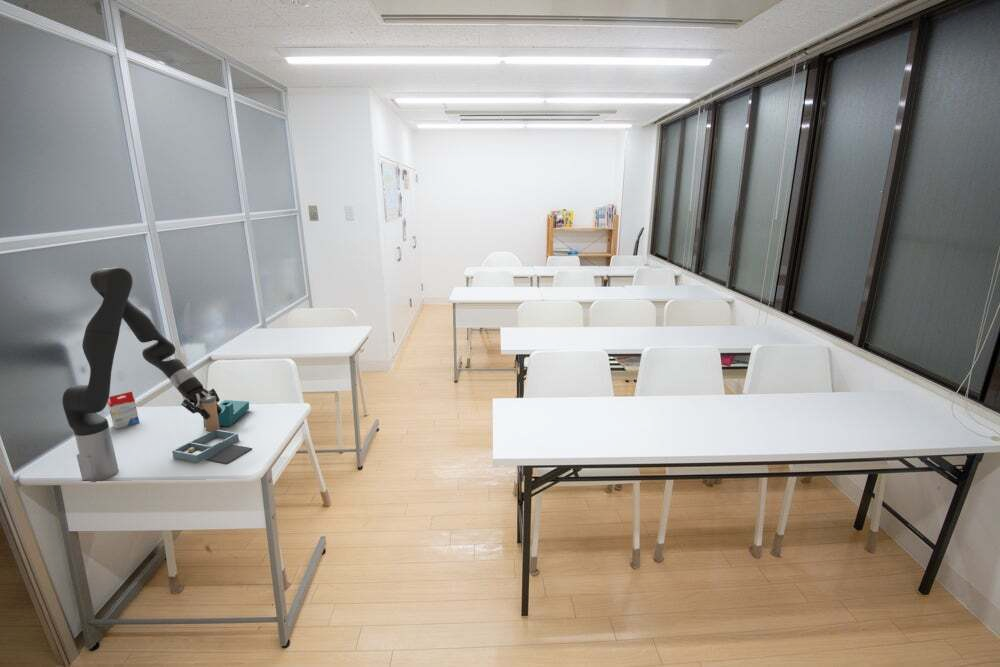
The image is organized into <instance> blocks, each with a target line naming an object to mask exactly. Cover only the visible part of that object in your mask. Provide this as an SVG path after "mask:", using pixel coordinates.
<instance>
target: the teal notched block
mask: <svg viewBox="0 0 1000 667" xmlns="http://www.w3.org/2000/svg"><path fill="white" fill-rule="evenodd" d="M218 405H219V407H220V408H221V409H222V412H221V413H220V414H218V419H219V426H225V427H226V426H227V427H230V426H232V425H233V423H234V424H235V422H236V421H237V420H239V419H240V418H241V417H242V416H243V415H244V414H245V413H246V412H248V411H249V410H250V402H249V401H246V400H245V401H244V400H231V399H224V400H223V401H221V402H220V403H219V404H218ZM202 418H203V417H202ZM203 421H204V418H203ZM203 428H205V423H204V422H203Z"/></svg>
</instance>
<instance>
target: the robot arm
mask: <svg viewBox="0 0 1000 667" xmlns="http://www.w3.org/2000/svg"><path fill="white" fill-rule="evenodd" d="M90 284H91V286H92V288H93V289H94V290H95V291H96V292H97V293H98V294H99V295H100V296H101V298H102V299H103V300H102V302H101V305H100V306H99V309H98V310H97V311H96V312H95V313H94V315H93V316H92V317H91V319H90V320H89V321H88V323H87V325H86V327H85V330H84V333H83V334H84V335H83V338H82V351H83V353H84V357H85V359H86V361H87V362H88V365H89V370H90V373H89V380H88V384H86V385H85V384H76V385H72V386H69V387H67V388H66V389H65V391H64V392H63V395H62V401H61V402H62V407H63V410H64V414H65V417H66V420H67V423H68V426H69V427H70V428H71V430H72V431H73V433H74V438H75V441H76V445H77V446H76V447H77V451H78V454H76V460H77V463H78V468H79V472H80V477H81V480H82V481H87V482H91V483H96V482H99V481H102V480H106V479H109V478H111V477H113V476H114V475H116V474H118V472H119V464H118V462H117V456H116V452H115V447H114V444H113V439H112V433H111V430H110V426H109V421H108V419H107V418H106V417H104V416H102V415H100V414H98V413H100V412H102V411H103V410H104V409H105V408H106V407H107V405H108V401H109V400H110V399H109V397H110V392H111V383H112V382H111V378H112V370H113V366H114V358H115V354H116V350H117V345H118V342H119V341H118V340H119V336H120V331H121V330H120V329H121V326H122V320H123V321H124V322H125V324H126V325H127V326H128V327H129V329H130V331H131V332H132V333H133V335H134V336H135V337H136V339H137V340H138V341H139V342H140V343H141V344H142V343H143V344H144V343H149V342H153V341H157V342H155V343H153V344H151V345H149V346H147V347H145V348H144V349H143V350H142V357H143V359H144V360H145V361H146V362H148V363H149V364H151V365H152V366H154V367H155V368H157V369H158V370H160V371H161V372H162V373H163V374H164V375H165V376H166V377H167V378H168V380H169V381H170V382H171V383H172V385H173V387H174V388H175V389H176V390H177V391H178V392H179V393H180V394H181V396H182V397H183V398H185V399H184V400H183V401H181V403H180V405H181V406H182V407H184V408H185V409H186V410H187V411H189V412H191V414H196V413H197V414H199V415H200V416H201V417H202V418H204V419H206V420H207V419H209V417H210V415H209V414H208V412H207V411H206V410H205V409H203V406H202V403H201V398H203V397H207V396H215V397H216V405H217V412H218V414H220V413H221V412H222V409H221V408H220V407H219V404H218V403H219V402H220V401H221V400H220V396H218V394H217V392H216V390H215V388H212V389H210V390H207V389H206V388H204V386H203V384H202V383H201V381H199V379H198V378H197V377H196V376H195V375H194V373H193V372H192V371H190V370H189V369H188V368H187V366H186V365H185V364H184V363H183V362H182V361H181V360H180V359H178V358H172V359H169V360H166V359H168V358H170V357H171V356H173V355H175V353H176V346H175V345H174V344H173V342H171V341H170V340H168V339H167V338H166V337H165V336H164V335H163V334H162V333H161V332H160V331H159V330H158V329H157V327H156V326H155V325H154V323H153V322H152V320H151V318H150V317H149V316H148V315H147V313H145V312H144V311H143V310H141V309H140V308H139V307H137V305H135V304H134V303H132V302H131V301H130V300H129V296H130V293H131V290H132V288H133V276H132V274H131V272H130V270H128V269H127V268H125V267H115V266H113V267H105V268H104V267H103V268H99V269H95V270H94V271H92V273H91V275H90Z"/></svg>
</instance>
